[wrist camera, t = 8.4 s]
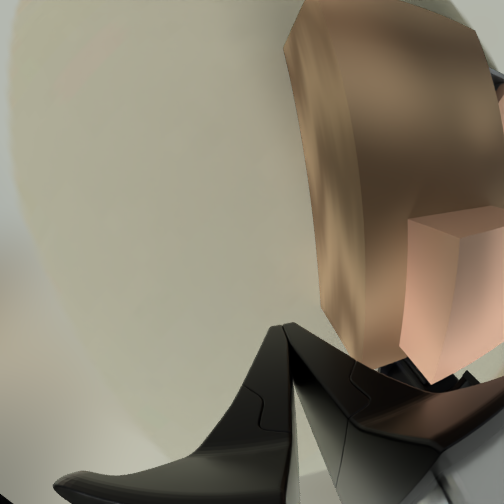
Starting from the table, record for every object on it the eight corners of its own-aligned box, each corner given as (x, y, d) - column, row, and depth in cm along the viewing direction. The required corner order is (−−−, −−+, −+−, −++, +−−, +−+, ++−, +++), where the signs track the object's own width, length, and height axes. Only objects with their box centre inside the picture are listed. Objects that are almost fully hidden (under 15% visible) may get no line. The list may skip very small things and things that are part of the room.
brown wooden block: (434, 276, 18) (492, 315, 11) (320, 306, 18) (360, 373, 11) (413, 58, 13) (475, 30, 6) (283, 48, 13) (312, -16, 6)
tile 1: (478, 311, 11) (511, 335, 8) (399, 346, 11) (431, 384, 8) (491, 205, 9) (534, 218, 6) (407, 219, 9) (459, 238, 6)
